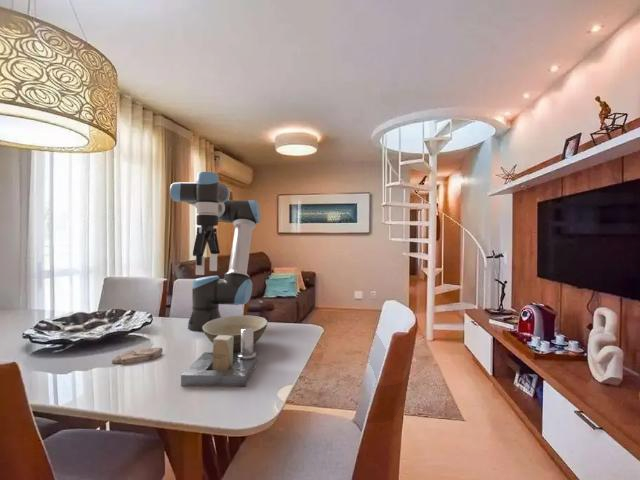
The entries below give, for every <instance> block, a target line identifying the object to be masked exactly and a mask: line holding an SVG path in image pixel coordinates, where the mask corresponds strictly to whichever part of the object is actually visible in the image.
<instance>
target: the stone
mask: <svg viewBox="0 0 640 480" xmlns="http://www.w3.org/2000/svg"><path fill="white" fill-rule="evenodd" d="M162 354H163V348H162V347H158V346H157V347H156V346H155V347H135V348H133V349H131V350H129V351H125V352H124V353H122V354H120V355H117V356H116V357H115V358H114V359H112V360H111V362H112V364H121V365H126V364H128V365H129V364H132V363H139V362H143V361H148V360H156V359H157V358H159V357H160V356H161V355H162Z"/></svg>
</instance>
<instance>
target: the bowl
mask: <svg viewBox="0 0 640 480" xmlns="http://www.w3.org/2000/svg"><path fill="white" fill-rule="evenodd" d="M244 327H252V328H253V347H254V345H255V344H256V343H257V342H258V340H260V339H261V337H262V335H263V333H264V332H265V330H266V329H267V327H268V320H267V319H266V318H265V317H263V316H262V317H261V316H257V315H256V316H255V315H246V314H245V315H243V314H242V315H241V314H237V315H227V316H221V318H217V319H214V320H211V321H209V322H207V323H206V324H204V325H203V327H202V329H203V333H204V334H205V336H206V338H207V339H208V340H209V341H210V342H211V343H212V344H213V339H214V338H215V337H217V336H218V335H227V336H234V339H233V353H239V352H241V328H244Z"/></svg>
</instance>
